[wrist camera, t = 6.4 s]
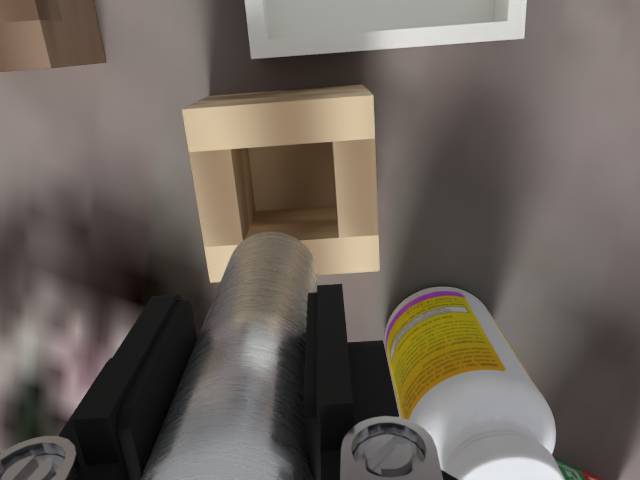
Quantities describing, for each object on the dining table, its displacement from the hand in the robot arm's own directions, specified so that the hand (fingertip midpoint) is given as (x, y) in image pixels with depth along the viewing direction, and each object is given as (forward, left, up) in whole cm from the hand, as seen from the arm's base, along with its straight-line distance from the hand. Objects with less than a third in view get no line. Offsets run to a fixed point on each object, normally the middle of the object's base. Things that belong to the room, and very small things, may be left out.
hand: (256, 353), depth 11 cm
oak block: (0, 0, -19) cm, 19 cm away
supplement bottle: (+8, -11, -19) cm, 23 cm away
